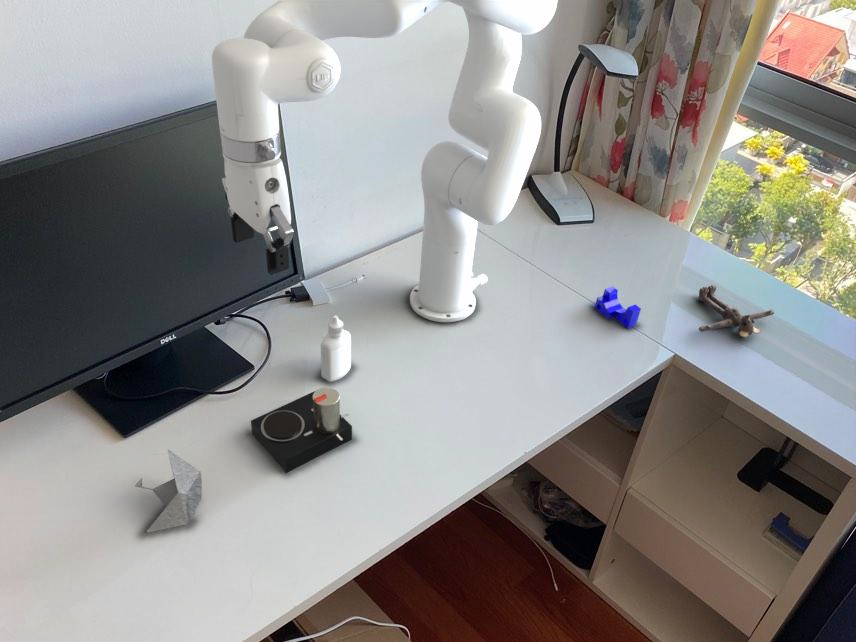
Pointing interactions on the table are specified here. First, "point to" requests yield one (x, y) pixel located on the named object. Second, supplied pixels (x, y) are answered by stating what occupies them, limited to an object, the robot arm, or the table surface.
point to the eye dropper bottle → (335, 351)
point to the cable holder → (616, 308)
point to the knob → (326, 410)
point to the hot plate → (302, 436)
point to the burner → (282, 426)
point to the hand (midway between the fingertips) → (260, 254)
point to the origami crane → (177, 495)
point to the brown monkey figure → (730, 314)
